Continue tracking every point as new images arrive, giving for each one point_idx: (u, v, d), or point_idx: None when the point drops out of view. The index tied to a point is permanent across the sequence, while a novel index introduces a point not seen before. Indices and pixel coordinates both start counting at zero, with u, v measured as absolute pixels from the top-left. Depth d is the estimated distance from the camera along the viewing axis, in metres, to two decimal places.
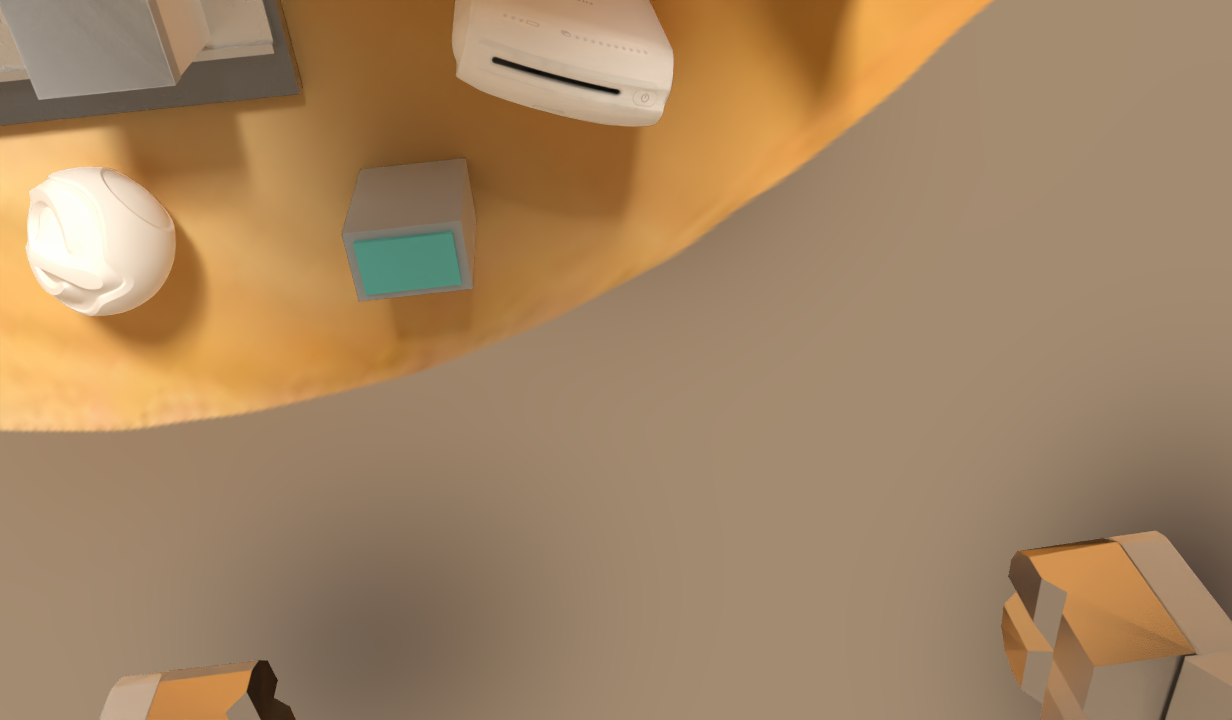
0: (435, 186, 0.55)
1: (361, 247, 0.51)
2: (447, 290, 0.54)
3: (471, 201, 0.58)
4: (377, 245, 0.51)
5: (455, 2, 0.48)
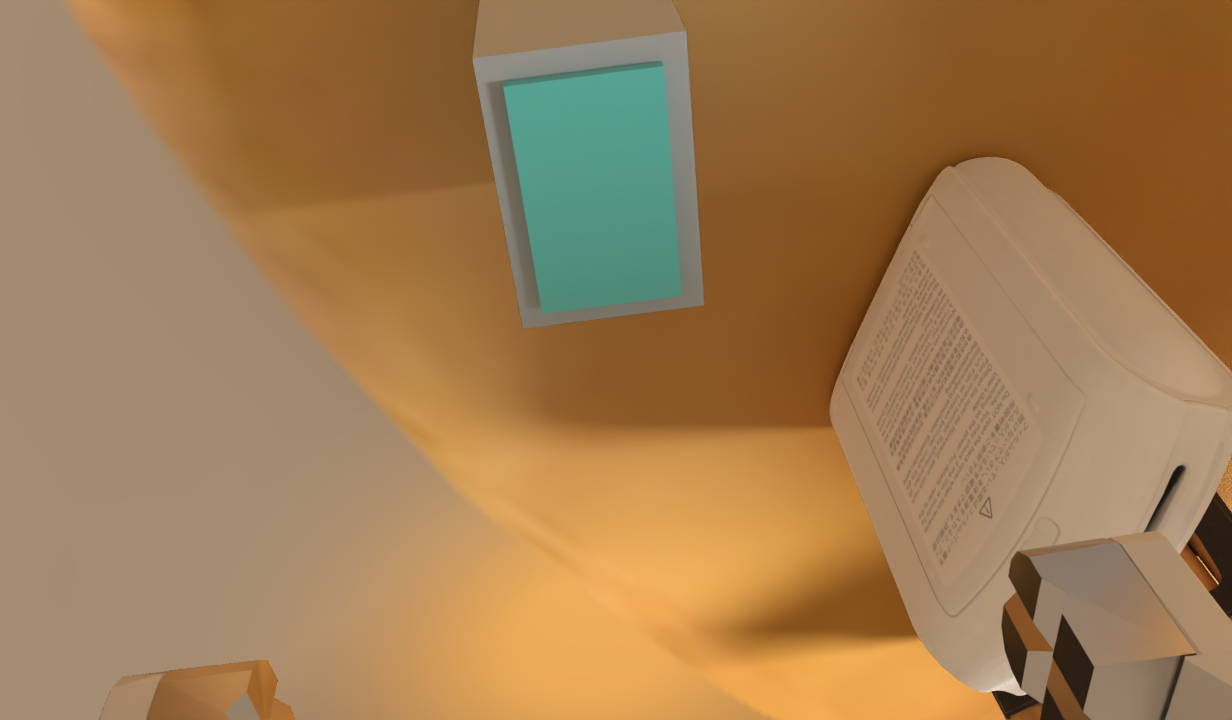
0: None
1: (651, 85, 0.19)
2: (516, 276, 0.21)
3: None
4: (657, 128, 0.20)
5: (1080, 234, 0.25)
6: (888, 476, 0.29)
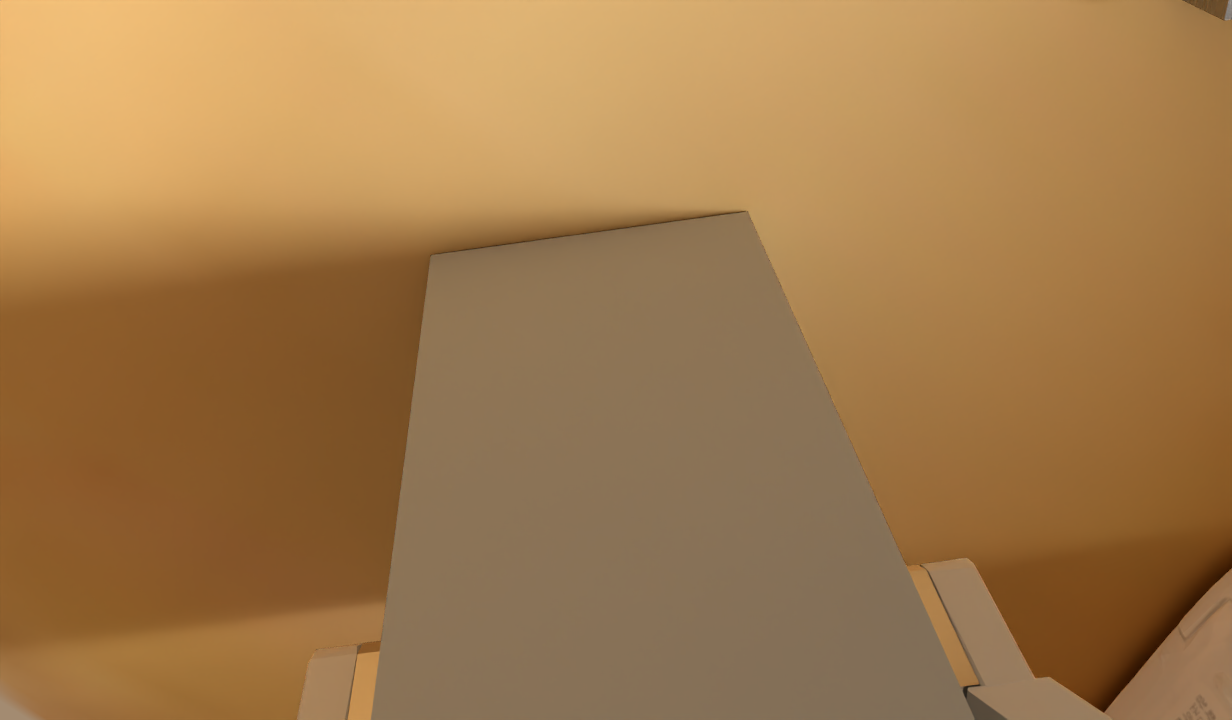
0: None
1: None
2: None
3: None
4: None
5: None
6: None
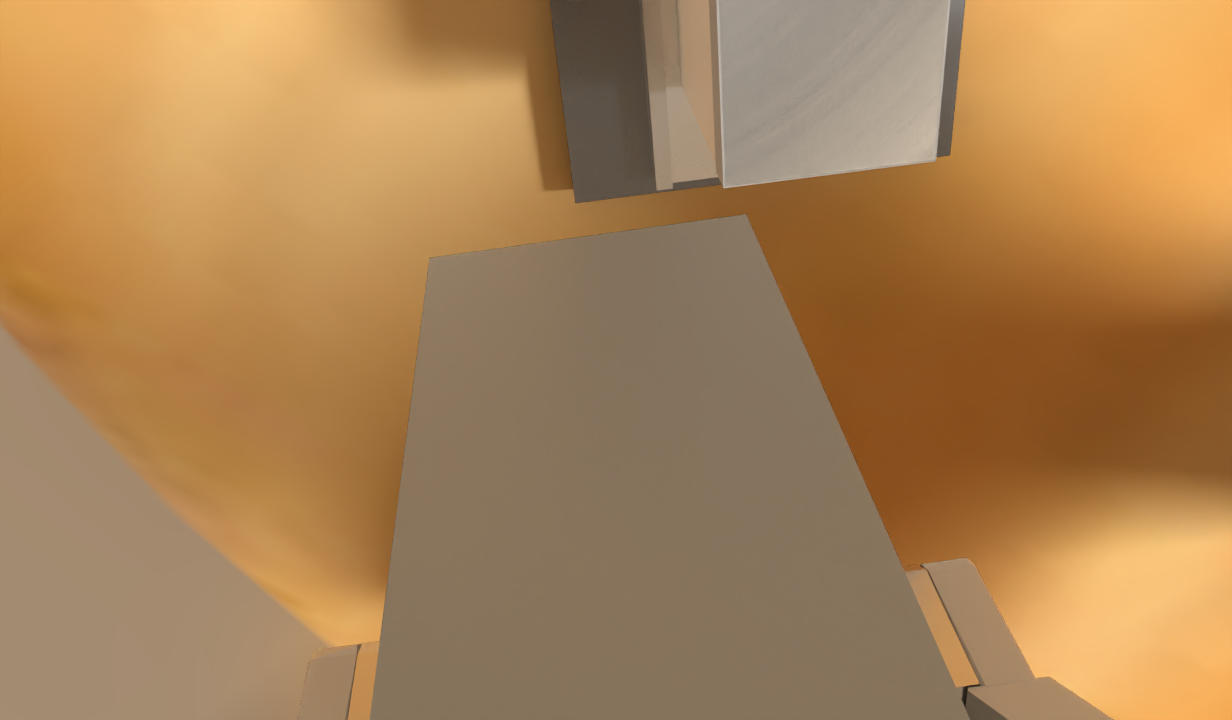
0: None
1: None
2: None
3: None
4: None
5: None
6: None
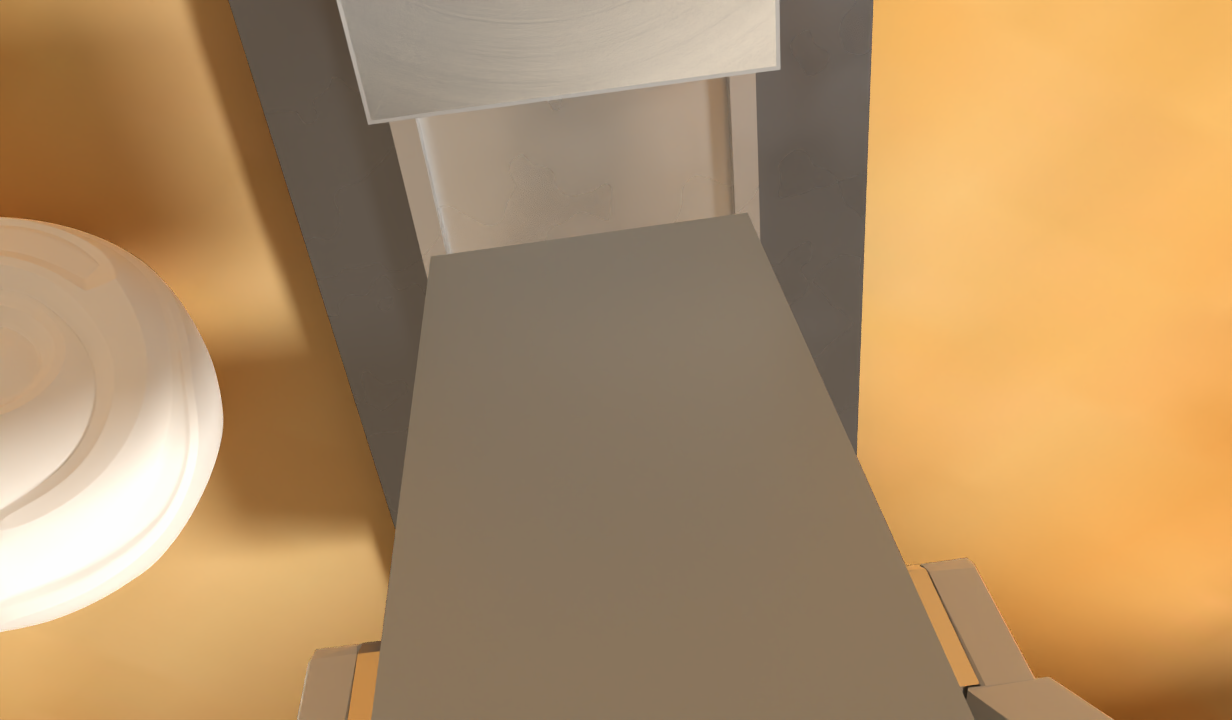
0: None
1: None
2: None
3: None
4: None
5: None
6: None
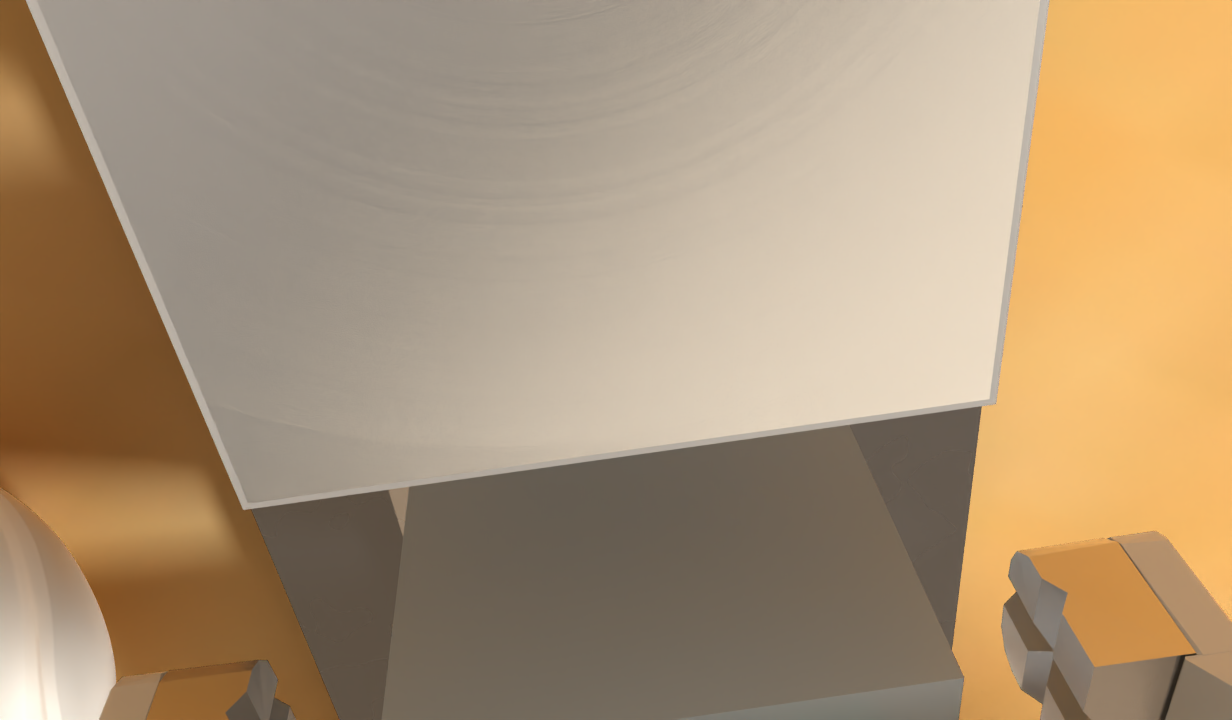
0: None
1: None
2: None
3: None
4: None
5: None
6: None
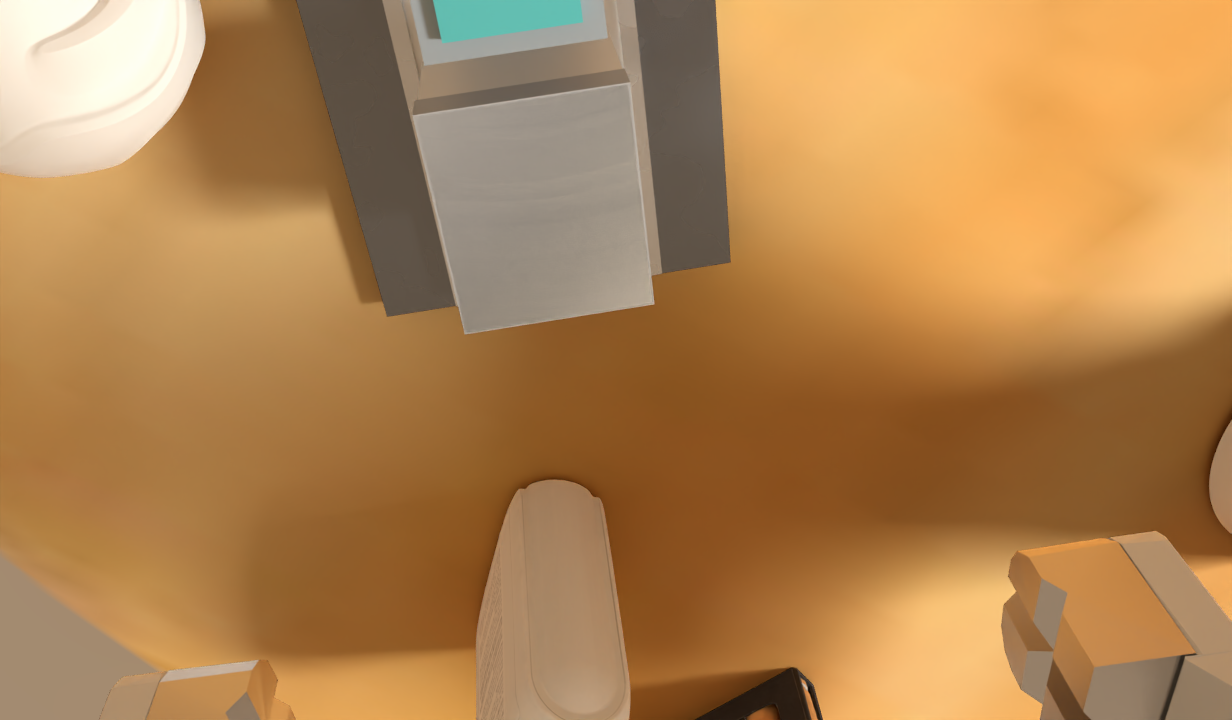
0: None
1: None
2: (413, 2, 0.21)
3: None
4: None
5: (573, 564, 0.37)
6: (478, 715, 0.40)
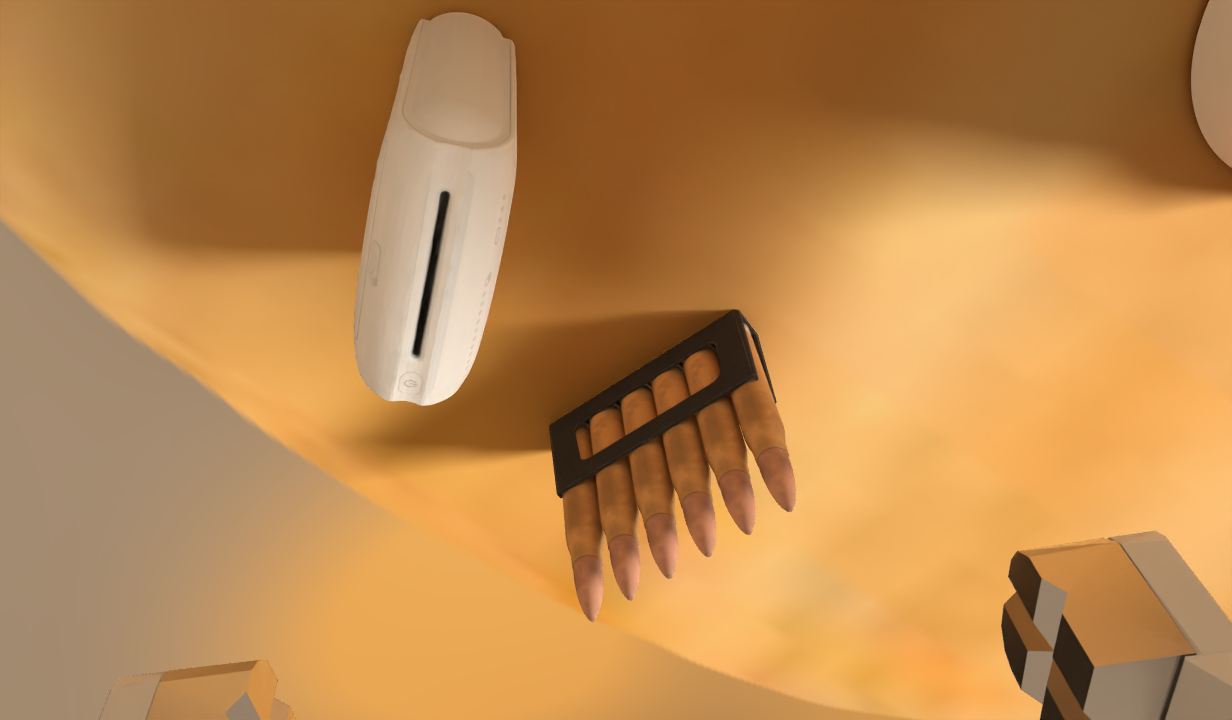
0: None
1: None
2: None
3: None
4: None
5: (467, 54, 0.33)
6: None
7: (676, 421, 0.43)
